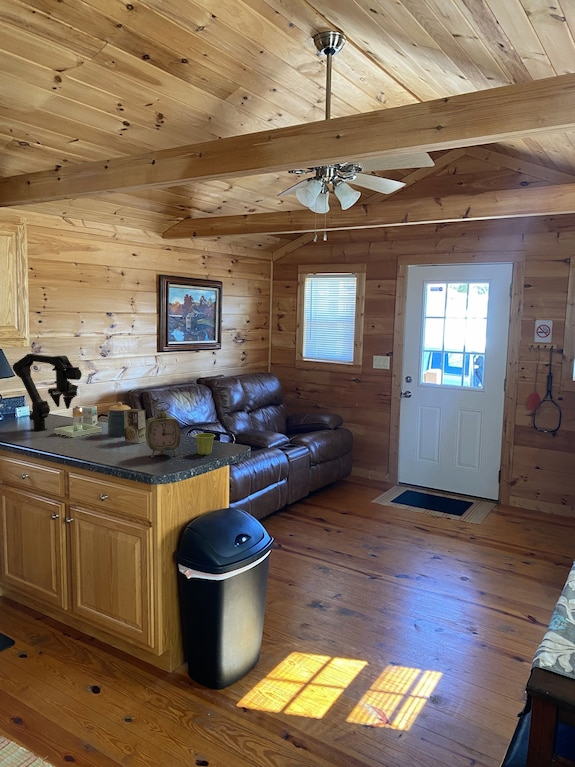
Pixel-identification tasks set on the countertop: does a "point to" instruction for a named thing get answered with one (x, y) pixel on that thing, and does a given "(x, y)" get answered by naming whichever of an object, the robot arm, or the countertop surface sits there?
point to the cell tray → (69, 431)
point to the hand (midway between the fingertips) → (62, 407)
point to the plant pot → (204, 443)
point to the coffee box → (135, 425)
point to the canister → (116, 420)
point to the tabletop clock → (162, 432)
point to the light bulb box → (89, 415)
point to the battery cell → (77, 418)
